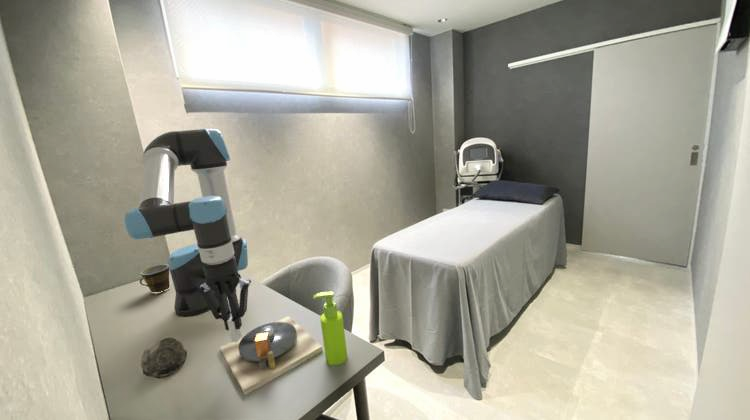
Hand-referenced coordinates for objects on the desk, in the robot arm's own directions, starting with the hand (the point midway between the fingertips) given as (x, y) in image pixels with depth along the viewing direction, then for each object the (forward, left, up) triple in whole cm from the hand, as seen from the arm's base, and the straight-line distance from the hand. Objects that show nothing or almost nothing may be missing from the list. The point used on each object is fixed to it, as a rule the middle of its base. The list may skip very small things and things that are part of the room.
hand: (236, 338), depth 85 cm
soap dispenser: (+16, +20, -9) cm, 27 cm away
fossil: (-15, -16, -9) cm, 24 cm away
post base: (0, +8, -9) cm, 12 cm away
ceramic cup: (-73, -12, -9) cm, 74 cm away
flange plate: (+1, +8, -6) cm, 10 cm away
